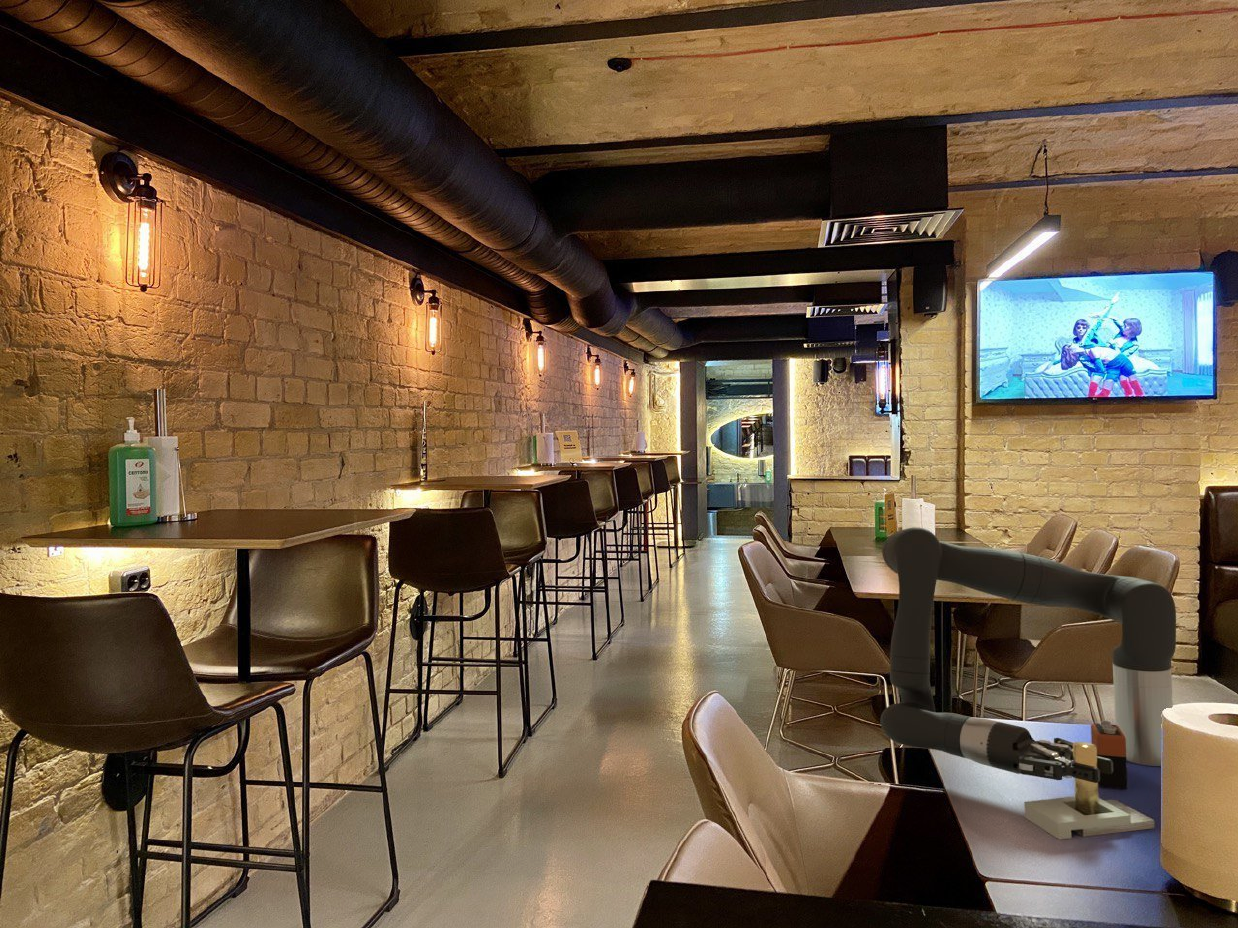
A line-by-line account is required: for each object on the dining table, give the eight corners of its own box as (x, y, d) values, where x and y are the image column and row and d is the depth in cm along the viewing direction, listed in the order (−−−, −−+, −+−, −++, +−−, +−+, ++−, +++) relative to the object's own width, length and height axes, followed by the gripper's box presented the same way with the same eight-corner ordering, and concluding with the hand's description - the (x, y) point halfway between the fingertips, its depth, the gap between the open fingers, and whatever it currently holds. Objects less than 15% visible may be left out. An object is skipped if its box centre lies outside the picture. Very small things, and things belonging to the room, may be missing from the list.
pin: (1089, 816, 129) (1086, 740, 129) (1104, 825, 126) (1101, 747, 126) (1071, 819, 129) (1068, 742, 129) (1085, 827, 125) (1082, 749, 125)
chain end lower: (1083, 836, 123) (1083, 828, 123) (1047, 814, 131) (1047, 806, 131) (1154, 827, 124) (1154, 820, 124) (1115, 806, 132) (1114, 798, 132)
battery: (1098, 787, 140) (1096, 729, 140) (1092, 773, 146) (1090, 717, 146) (1128, 790, 138) (1126, 731, 138) (1120, 775, 145) (1118, 719, 145)
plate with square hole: (1092, 808, 132) (1092, 794, 132) (1131, 830, 124) (1130, 814, 124) (1024, 816, 130) (1024, 801, 130) (1059, 839, 122) (1058, 823, 122)
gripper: (973, 732, 134) (1085, 758, 121) (1014, 712, 143) (1123, 735, 129) (975, 777, 134) (1087, 809, 121) (1016, 755, 143) (1125, 783, 129)
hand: (1105, 771), depth 125 cm, fingers open, 4 cm apart
